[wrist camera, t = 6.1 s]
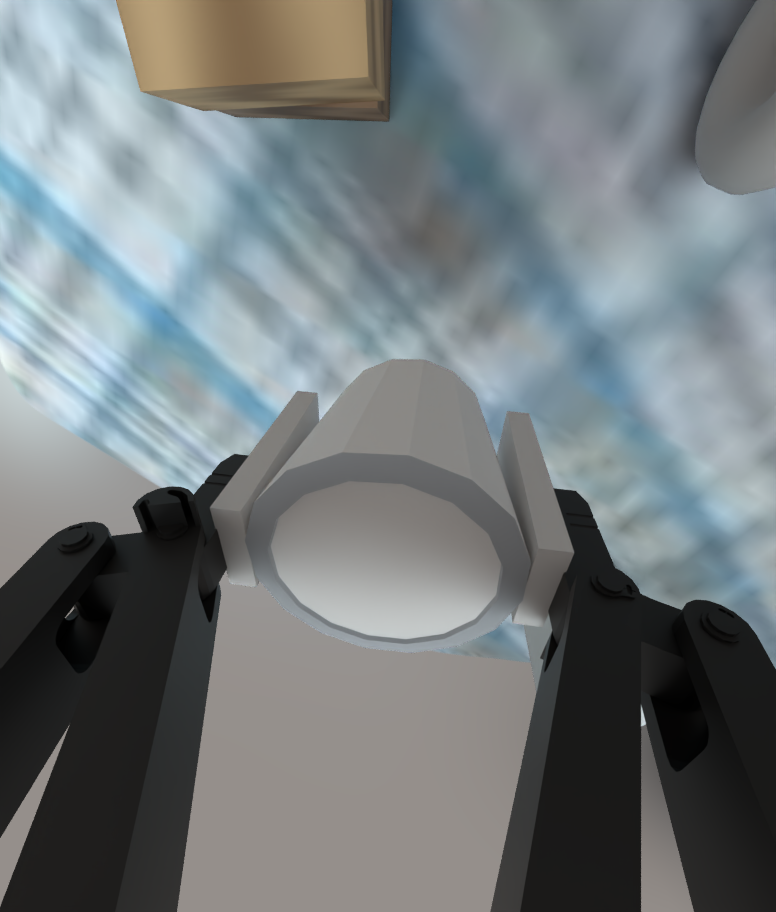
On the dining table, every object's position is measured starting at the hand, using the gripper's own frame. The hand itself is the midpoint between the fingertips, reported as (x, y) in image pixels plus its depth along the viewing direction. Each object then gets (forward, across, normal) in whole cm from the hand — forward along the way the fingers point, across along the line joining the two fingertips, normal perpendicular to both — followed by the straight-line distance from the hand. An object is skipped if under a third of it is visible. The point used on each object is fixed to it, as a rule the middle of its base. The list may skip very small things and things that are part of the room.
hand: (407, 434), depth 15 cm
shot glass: (+1, 0, 0) cm, 1 cm away
